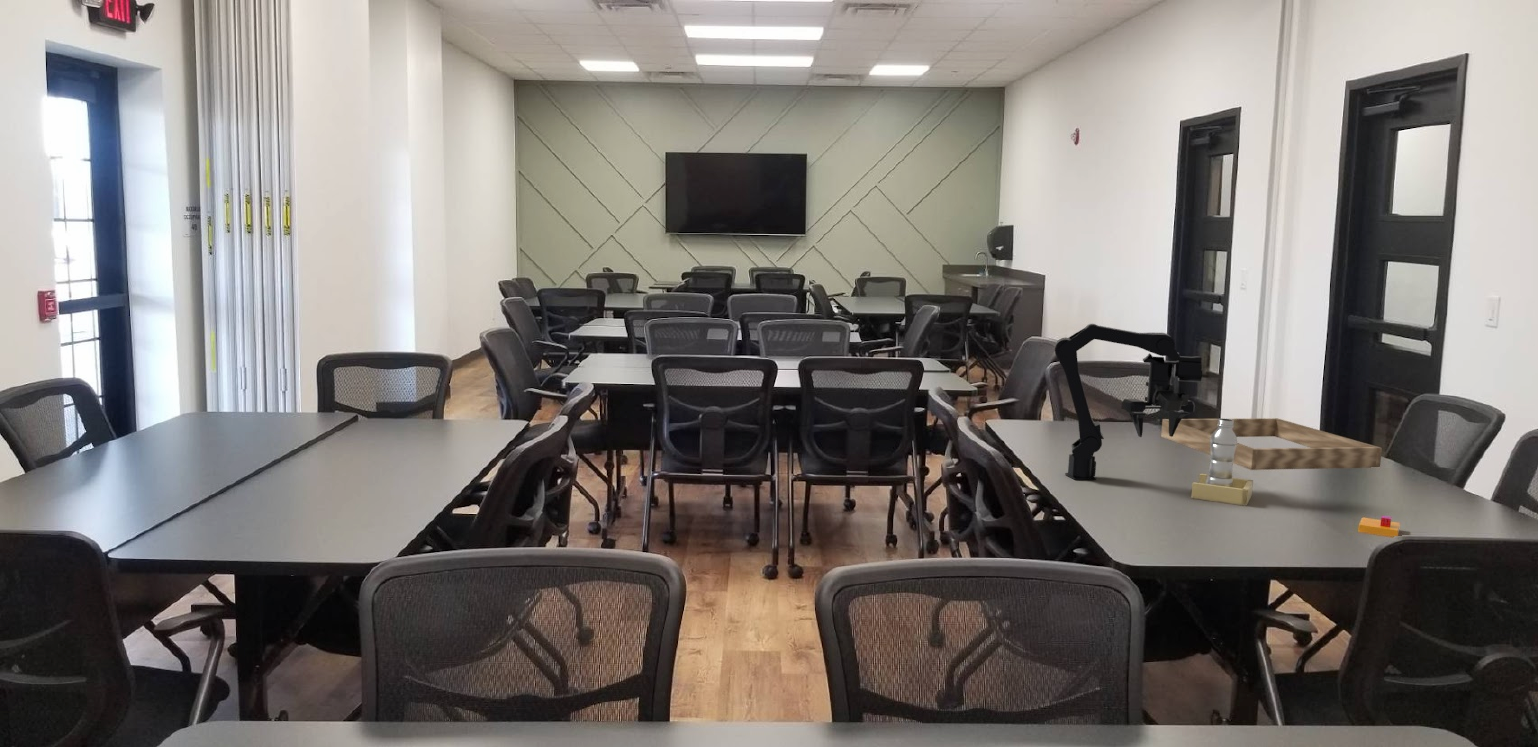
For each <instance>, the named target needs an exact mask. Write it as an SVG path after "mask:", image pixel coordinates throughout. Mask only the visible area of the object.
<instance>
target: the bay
mask: <svg viewBox="0 0 1538 747" xmlns="http://www.w3.org/2000/svg"><path fill="white" fill-rule="evenodd" d="M1207 476H1208V474H1206V473H1199V474H1198V482H1194V481H1193V482H1192V483H1191V484H1192V486H1191V498H1190V499H1195V500H1202V501H1208V502H1217V503H1222V504H1228V505H1229V504H1230V505H1237V506H1238V505H1239V506H1245V507H1247V505H1248V504H1249V502H1250V499H1251V498H1252V495H1253V485H1254V480H1253V479H1252V480H1251V479H1247V478H1246V479H1245V478H1238V477H1232V479H1233V487H1225V486H1217V485H1210V484H1206V480H1207Z"/></svg>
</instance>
